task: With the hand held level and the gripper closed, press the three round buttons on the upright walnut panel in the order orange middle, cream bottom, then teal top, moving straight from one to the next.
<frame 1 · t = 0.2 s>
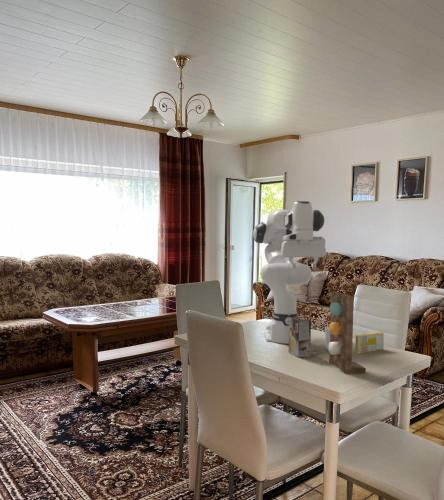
hand: (303, 267, 192), 39 cm above the table, tool pointing down, fingers open, 8 cm apart
cream button: (335, 348, 175), point 8 cm above the table, slide at 0.0 cm
coffee box: (299, 354, 193), on the table
white cup: (333, 349, 202), on the table
teal button: (336, 308, 174), point 24 cm above the table, slide at 0.0 cm
orange button: (335, 328, 174), point 16 cm above the table, slide at 0.0 cm
button panel: (337, 367, 175), on the table
candy box: (369, 351, 201), on the table
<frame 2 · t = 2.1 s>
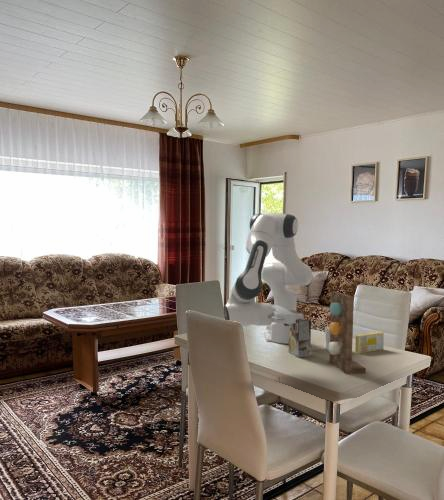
hand: (299, 313, 171), 22 cm above the table, tool horizontal, fingers open, 6 cm apart
nothing on the table moved.
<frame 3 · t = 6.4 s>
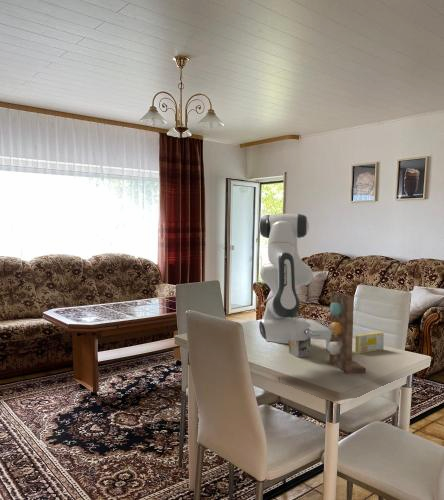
hand: (332, 328, 174), 16 cm above the table, tool horizontal, fingers closed, pressing on orange button
orange button: (336, 328, 174), point 16 cm above the table, slide at 0.4 cm, touching gripper
everything else where it was.
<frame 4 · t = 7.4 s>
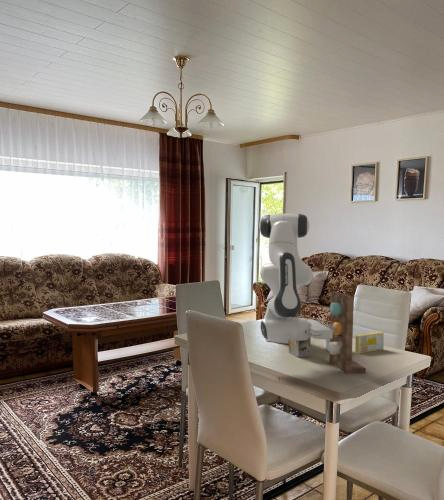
hand: (333, 328, 174), 16 cm above the table, tool horizontal, fingers closed
orange button: (338, 328, 174), point 16 cm above the table, slide at 1.2 cm
everything else where it was.
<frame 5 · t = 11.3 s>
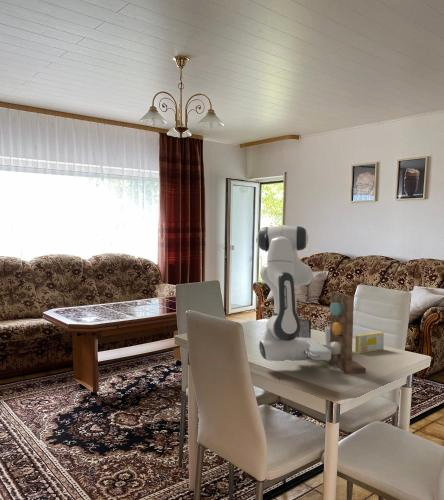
hand: (332, 348, 174), 8 cm above the table, tool horizontal, fingers closed, pressing on cream button
cream button: (336, 348, 175), point 8 cm above the table, slide at 0.6 cm, touching gripper
everything else where it was.
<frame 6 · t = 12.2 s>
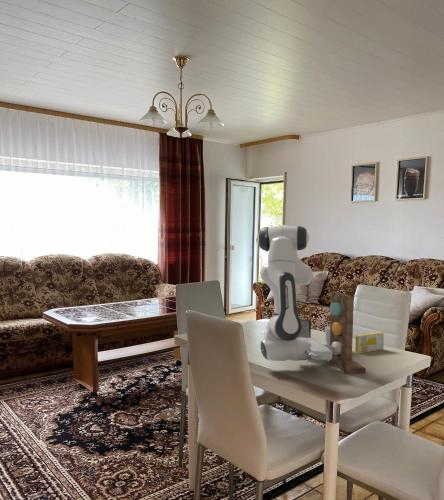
hand: (333, 348, 174), 8 cm above the table, tool horizontal, fingers closed
cream button: (337, 348, 175), point 8 cm above the table, slide at 1.2 cm
everything else where it was.
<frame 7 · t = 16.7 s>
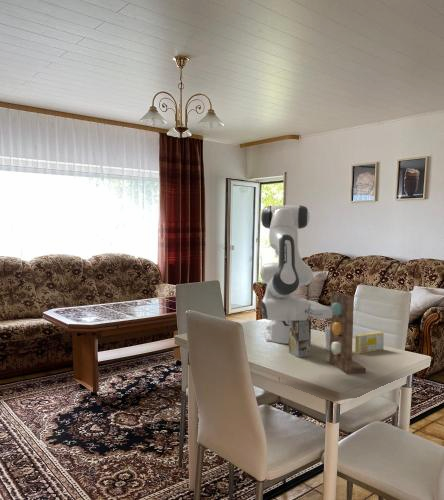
hand: (333, 309, 174), 24 cm above the table, tool horizontal, fingers closed, pressing on teal button
teal button: (337, 308, 174), point 24 cm above the table, slide at 0.6 cm, touching gripper
everything else where it was.
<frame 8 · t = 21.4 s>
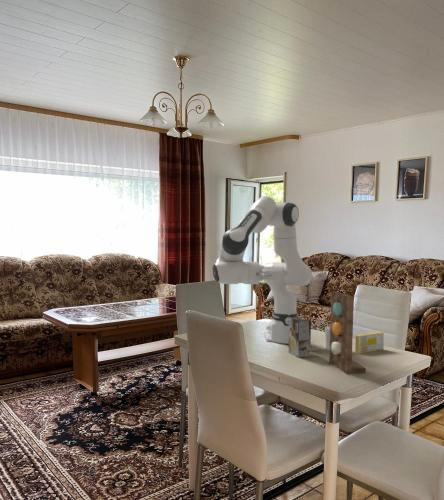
hand: (287, 273, 174), 38 cm above the table, tool horizontal, fingers closed
teal button: (339, 308, 174), point 24 cm above the table, slide at 1.2 cm
everything else where it was.
at the end: orange button slide at 1.2 cm; cream button slide at 1.2 cm; teal button slide at 1.2 cm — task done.
